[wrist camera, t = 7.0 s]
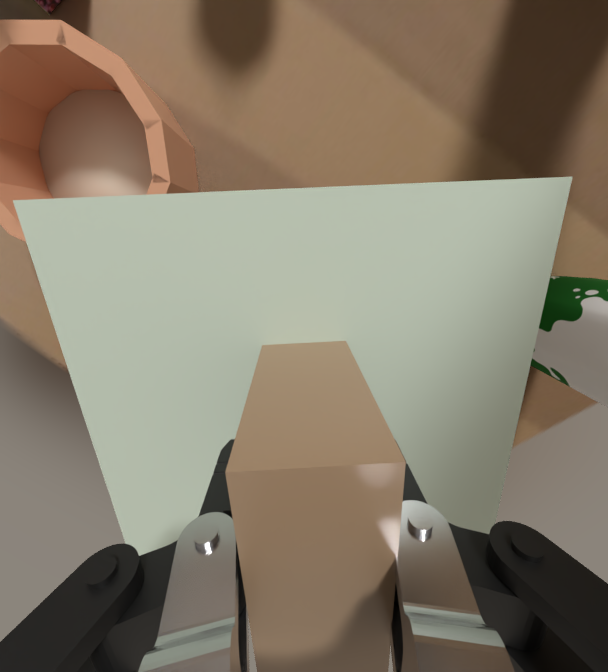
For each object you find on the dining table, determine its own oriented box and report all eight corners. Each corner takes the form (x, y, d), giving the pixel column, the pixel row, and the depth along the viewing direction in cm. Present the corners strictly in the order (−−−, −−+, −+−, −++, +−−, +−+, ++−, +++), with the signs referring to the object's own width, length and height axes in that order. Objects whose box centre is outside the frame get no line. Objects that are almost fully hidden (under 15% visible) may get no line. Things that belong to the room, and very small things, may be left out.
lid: (546, 182, 10) (1032, 79, 3) (474, 542, 16) (609, 770, 9) (40, 203, 10) (-496, 136, 3) (148, 562, 15) (37, 814, 9)
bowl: (185, 78, 25) (147, 20, 18) (206, 252, 29) (181, 257, 23) (12, 77, 24) (-92, 18, 18) (60, 255, 29) (-9, 260, 22)
